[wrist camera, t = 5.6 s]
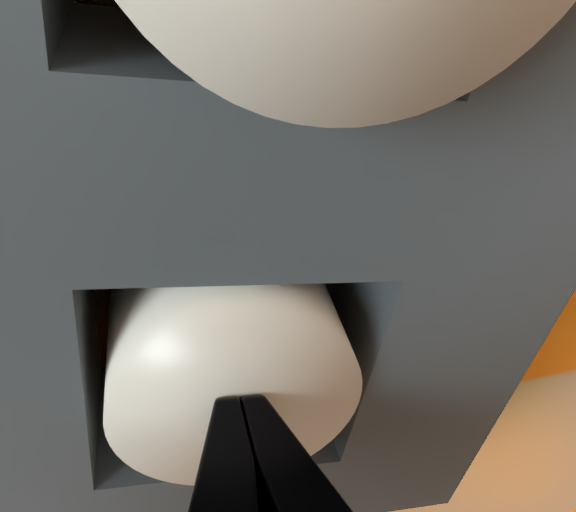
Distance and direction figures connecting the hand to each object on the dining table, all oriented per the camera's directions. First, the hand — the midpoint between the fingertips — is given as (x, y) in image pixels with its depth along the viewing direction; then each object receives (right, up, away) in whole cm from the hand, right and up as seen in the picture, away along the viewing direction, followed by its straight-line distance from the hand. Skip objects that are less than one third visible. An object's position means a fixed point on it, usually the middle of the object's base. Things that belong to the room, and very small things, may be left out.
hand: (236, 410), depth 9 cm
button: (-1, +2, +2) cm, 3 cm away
